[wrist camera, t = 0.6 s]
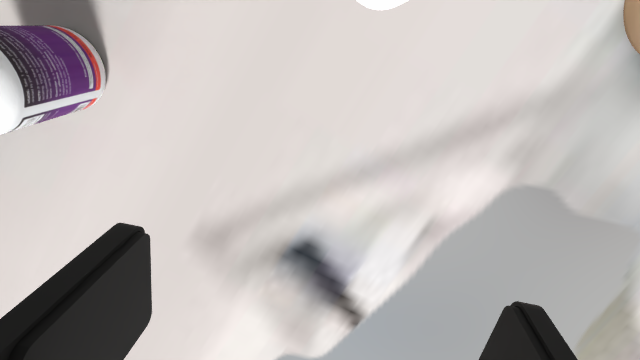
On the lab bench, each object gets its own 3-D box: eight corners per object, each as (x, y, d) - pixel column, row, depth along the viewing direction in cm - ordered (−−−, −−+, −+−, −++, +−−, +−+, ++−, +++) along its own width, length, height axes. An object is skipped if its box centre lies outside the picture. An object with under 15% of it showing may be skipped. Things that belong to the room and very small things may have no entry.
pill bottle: (44, 8, 34) (-149, -4, 21) (121, 55, 36) (-17, 71, 22) (26, 81, 38) (-153, 110, 24) (97, 122, 39) (-37, 171, 25)
